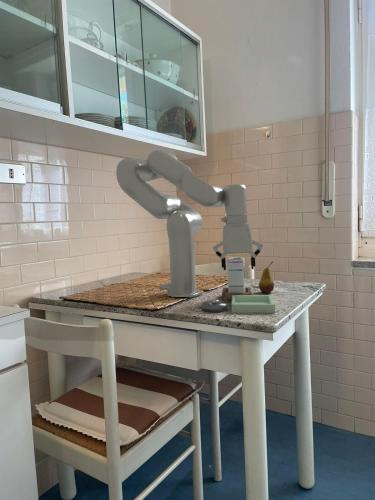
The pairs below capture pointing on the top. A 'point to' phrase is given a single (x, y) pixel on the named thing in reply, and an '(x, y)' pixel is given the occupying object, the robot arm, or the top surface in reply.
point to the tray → (253, 304)
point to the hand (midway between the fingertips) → (238, 269)
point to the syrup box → (236, 275)
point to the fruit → (266, 281)
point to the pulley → (214, 306)
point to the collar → (228, 296)
